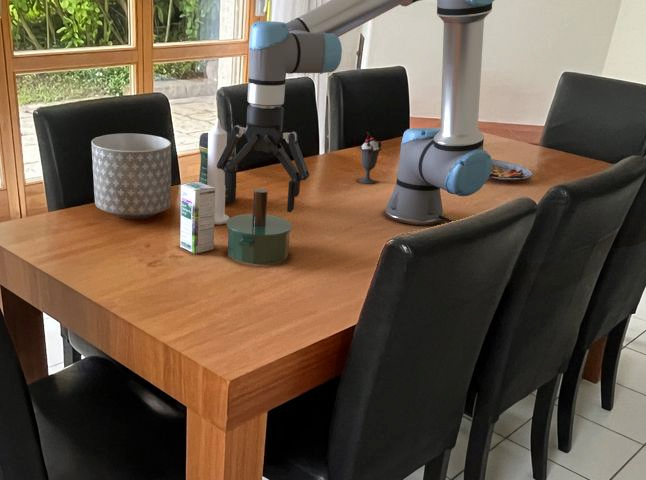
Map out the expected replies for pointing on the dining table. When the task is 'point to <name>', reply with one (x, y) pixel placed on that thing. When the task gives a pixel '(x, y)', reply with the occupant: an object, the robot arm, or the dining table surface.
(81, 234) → the dining table surface
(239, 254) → the pot
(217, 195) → the white syringe
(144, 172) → the planter
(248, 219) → the pot lid
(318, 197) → the dining table surface
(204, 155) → the coffee jar
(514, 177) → the food plate
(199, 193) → the syrup box
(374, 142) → the sundae
